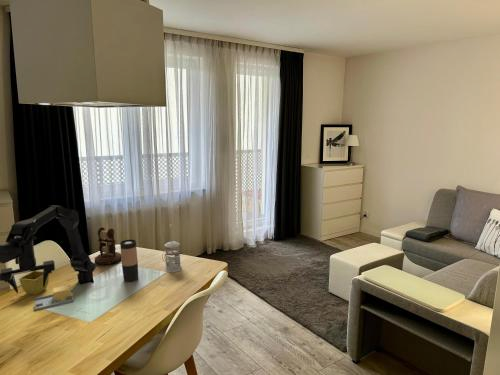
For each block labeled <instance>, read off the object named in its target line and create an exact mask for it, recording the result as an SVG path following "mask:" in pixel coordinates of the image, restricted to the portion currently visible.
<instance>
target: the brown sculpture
mask: <svg viewBox="0 0 500 375" xmlns="http://www.w3.org/2000/svg"><path fill="white" fill-rule="evenodd" d="M97 235H98V239H97V241H98V243H99V244H98V246H99V247H98V250H99V254H97V256H95V257H94V262H95V263H94V264H99V265H100V264H101V265H105V264H108V266H110V265H111V264H112V263H115V262H119V261H120V260H121V252H116V240H115V230H114V228H109V229H108V230H106V228H105V227H100V228H98V230H97Z"/></svg>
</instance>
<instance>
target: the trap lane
mask: <svg viewBox="0 0 500 375" xmlns="http://www.w3.org/2000/svg"><path fill="white" fill-rule="evenodd" d="M74 301H75V299H74V294H73V289H71V296H69V297H66V299H61V300H54V296H53V293H51V294H47V295H43V296H38V297H37V296H36V297H35V298H34V311H39V310H44V309H45V310H46V309H48V308H53V307H56V306H57V307H58V306H60V305H64V304H70V303H74Z"/></svg>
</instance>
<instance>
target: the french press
mask: <svg viewBox="0 0 500 375" xmlns="http://www.w3.org/2000/svg"><path fill="white" fill-rule="evenodd" d="M168 227H169V228H172V227H174V225H173V224H169V225H168ZM170 236H171V238H170V239H171V241H168V242H166V243H165V244H164V247H165V249H164V250H163V251H162V253H161V254H162V255H161V258H162V261H163V262H164V263H165V268H164V271H165V272H168V273H175V272H179V271H182V270H183V266H182V265H181V254H180V250H179V249H173V248H177V247H179V246H180V243H179V242H178V241H175V240H173V237H172V236H173V234H172V231H170ZM166 248H168V249H166ZM163 256H164V257H163Z"/></svg>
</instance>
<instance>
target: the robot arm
mask: <svg viewBox="0 0 500 375" xmlns="http://www.w3.org/2000/svg"><path fill="white" fill-rule="evenodd" d="M54 218H56V219H58V222H59V223H60V225H61V226H62V227H63V228H64V229H65V230H66V231H65V232H66V234H67V238H68V241H69V244H70V248H71V252H72V256H71V258H70V259H69V262H70V267H71V268H72V269H73V271H74V272H78V273H77V274H76V275H77V283H78V284H79V285H86V284H90V283H91V284H93V283H95V280H94V274H93V272H94V271H95V270H96V266H97V265H96V263H94V261H92V259H91V258H90V255H89V254H88V253H86V252H85V249H84V246H83V243H82V239H81V234H80V231H79V227H78V226H79V223H80V216H79V212H78V210H75V209H70V208H68V207H67V208H66V207H63V206H61V205H53V204H52V205H49V206H48V208H46V209H45V210H43V211H41V212H40V213H37V214H35V215H34V216H33V217H30V218H27V219H23V220H21V221H17V222H14V223H13V224H12V225H11V228H10V230H9V233H8V235H7V237H6V240H5V243H4V244H0V263H1V264H6V263H9V262H11V261H13V260H14V261H15V265H18V268H17V269H13V267H6V268H2V269H1V270H0V282H1V281H3V282H4V283H8V284H9V285H10V286H11V287H12V289H13V290H14V291H15V293H16V294H17V293H19V290H18V289H19V288H18V284H17V281H16V278H15V275H21V274H26V273H27V274H28V273H30V272H32V271H42V270H43V271H42V272H43V287H45V283H46V279H47V277H48V274H49V275H50V274H52V273H53V272H54V271H55V270H56V267H55V261H54V260H51V259H50V260H47V261H46V260H45V261H43V262H42V263H43V264H38V265H37V258H36V255H35V248H34V241H36V240H38V237H36V236H34V235H35V234H36V233H37V232H38V230H39V228H40V227H42V226H43V225H45V224H47V223H48V222H49V221H52V220H53V219H54Z"/></svg>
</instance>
